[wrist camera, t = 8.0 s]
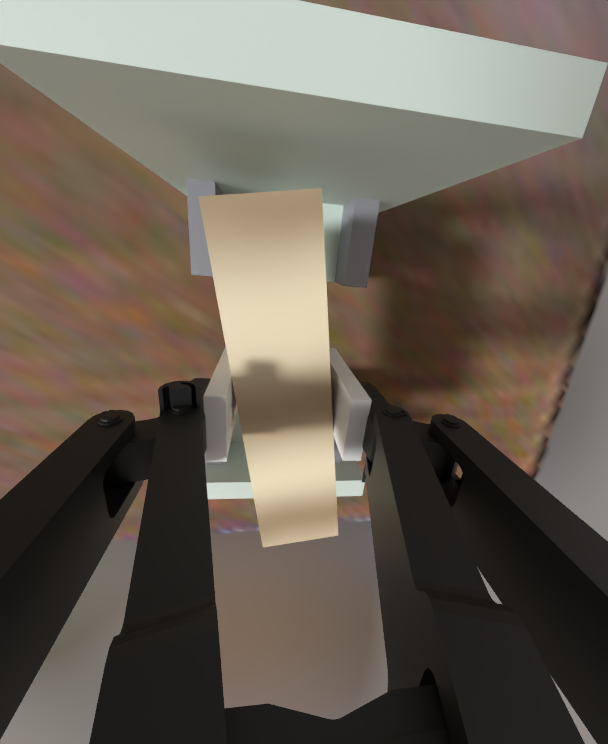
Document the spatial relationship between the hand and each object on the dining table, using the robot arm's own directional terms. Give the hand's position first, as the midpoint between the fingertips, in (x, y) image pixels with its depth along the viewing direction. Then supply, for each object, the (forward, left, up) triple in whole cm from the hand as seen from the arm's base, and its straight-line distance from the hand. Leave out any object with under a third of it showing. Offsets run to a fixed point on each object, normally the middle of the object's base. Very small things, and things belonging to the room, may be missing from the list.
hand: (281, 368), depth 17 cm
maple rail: (0, 0, -1) cm, 1 cm away
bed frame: (0, 0, -13) cm, 13 cm away
